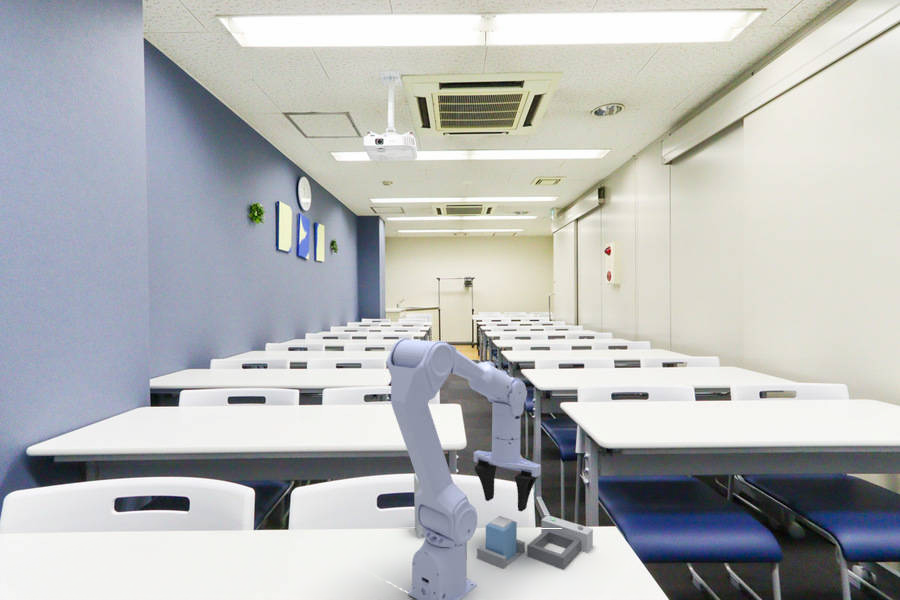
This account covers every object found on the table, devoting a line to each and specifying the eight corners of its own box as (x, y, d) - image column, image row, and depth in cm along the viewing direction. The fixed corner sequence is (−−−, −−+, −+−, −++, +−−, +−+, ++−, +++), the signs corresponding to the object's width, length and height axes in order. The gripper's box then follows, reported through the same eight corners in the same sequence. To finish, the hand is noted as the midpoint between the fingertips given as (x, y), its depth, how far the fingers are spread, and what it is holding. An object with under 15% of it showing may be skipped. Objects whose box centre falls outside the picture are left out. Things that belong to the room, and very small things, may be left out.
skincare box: (438, 538, 97) (438, 480, 97) (417, 540, 96) (417, 482, 96) (432, 525, 103) (433, 470, 103) (413, 527, 102) (413, 472, 102)
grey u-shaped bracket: (503, 571, 85) (503, 559, 85) (477, 560, 88) (477, 548, 89) (524, 553, 91) (524, 542, 91) (498, 543, 95) (498, 532, 95)
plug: (503, 563, 87) (503, 528, 87) (485, 556, 89) (485, 522, 89) (516, 552, 91) (516, 519, 91) (499, 546, 93) (499, 513, 93)
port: (569, 574, 84) (569, 550, 84) (521, 555, 90) (521, 533, 90) (592, 548, 93) (592, 527, 93) (547, 533, 99) (547, 513, 99)
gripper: (548, 438, 91) (547, 507, 91) (486, 426, 100) (486, 489, 100) (531, 446, 86) (530, 519, 85) (468, 433, 94) (467, 499, 94)
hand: (505, 504), depth 92 cm, fingers open, 7 cm apart
